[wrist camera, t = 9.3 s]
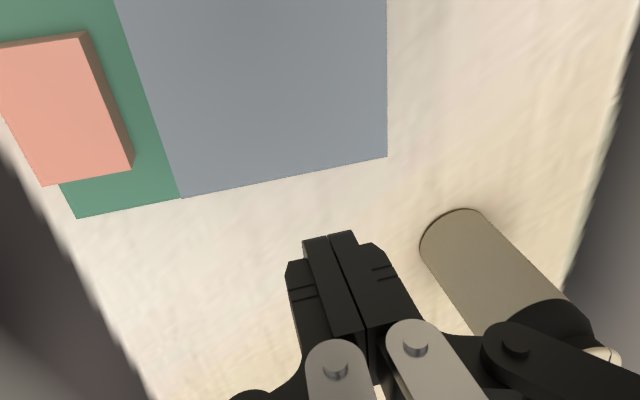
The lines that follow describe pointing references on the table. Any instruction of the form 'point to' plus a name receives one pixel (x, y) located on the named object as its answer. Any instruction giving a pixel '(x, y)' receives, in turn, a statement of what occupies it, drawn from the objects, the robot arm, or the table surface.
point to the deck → (260, 85)
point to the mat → (118, 65)
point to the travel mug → (501, 283)
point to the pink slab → (62, 108)
